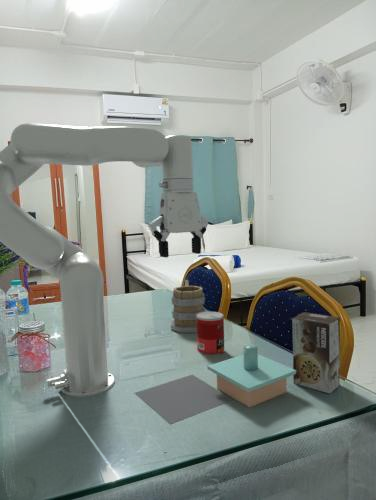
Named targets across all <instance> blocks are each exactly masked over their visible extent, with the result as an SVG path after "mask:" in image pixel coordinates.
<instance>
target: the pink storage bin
mask: <svg viewBox="0 0 376 500" xmlns="http://www.w3.org/2000/svg"><path fill="white" fill-rule="evenodd" d="M216 389H217V390H219V391H220V392H222V393H224V394H225V395H227V396H229V397H230V398H232V399H235V400H236V401H237V402H239V403H241V404H243V405H245V406H246V407H248V408H249V409H250V408H252V407H255V406H258V405H259V404H261V403H264V402H266V401H269V400H271V399H275V398H276V397H279V396H281V395H284V394H286V393H287V378H284V379H281V380H279V381H276V382H274V383H271V384H268V385H266V386H263V387H261V388H258V389H256V390H253V391H250V392H248V391H246V390H244V389H242V388H240V387H239V386H237V385H235V384H233V383H231V382H230V381H228V380H226V379H224V378H222V377H221V376H219V375H217V374H216Z"/></svg>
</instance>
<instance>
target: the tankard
mask: <svg viewBox="0 0 376 500" xmlns="http://www.w3.org/2000/svg"><path fill="white" fill-rule="evenodd" d="M189 281H190V280H189V279H185V280H184V285H183V286H178V287H174V288H173V291H172V296H171V305H173V308H172V312H171V314H172V319H173V320H171V324H170V330H171V331H173V332H177V333H180V334H194V332H197V323H196V317H197V314H199V313H201V312H207V311H206V310H205V307H204V304H205V301H206V297H205V293H204V292H203V287H202V286H198V285H190V283H189Z"/></svg>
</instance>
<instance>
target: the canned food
mask: <svg viewBox="0 0 376 500" xmlns="http://www.w3.org/2000/svg"><path fill="white" fill-rule="evenodd" d="M224 317H225V316H224V314H223V313H222V312H219V311H206V312H201V313H199V314H197V317H196V323H197V333H196V346H197V347H196V348H197V351H198V352H199V353H201V354H205V355H216V354H219V355H221V354H223V353H224V351H225V323H224V322H225V320H224V319H225V318H224Z"/></svg>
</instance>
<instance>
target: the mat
mask: <svg viewBox="0 0 376 500" xmlns="http://www.w3.org/2000/svg"><path fill="white" fill-rule="evenodd" d="M134 395H136V397H138V398H139V399H140V400H142V401H143V402H144V404H146V405H147V406H148V407H150V408H151V409H152V410H153V411H154V412H156V414H158V415H159V416H160V417H161V418H162V419H163V420H165V421H166V423H168V424H169V425H173V424H175V423H178V422H180V421H183V420H185V419H189V418H190V417H191V418H192V417H193V416H196V415H198V414H201V413H203V412H206V411H208V410H211V409H214V408H216V407H219V406H221V405H224V404H227V403H229V402H231V401H234V398H233V397H231V396H229V395H228V394H226V393H224V392H223V391H221V390H219V389H218V388H215V387H213V386H212V385H210V384H209V383H208V382H205V380H202V379H201V378H199V377H197V376H196V375H194V374H190V375H187V376H183V377H180V378H177V379H175V380H171V381H168V382H163V383H162V384H159V385H155V386H151V387H149V388H146V389H142V390H138V391H137V392H134Z"/></svg>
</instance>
